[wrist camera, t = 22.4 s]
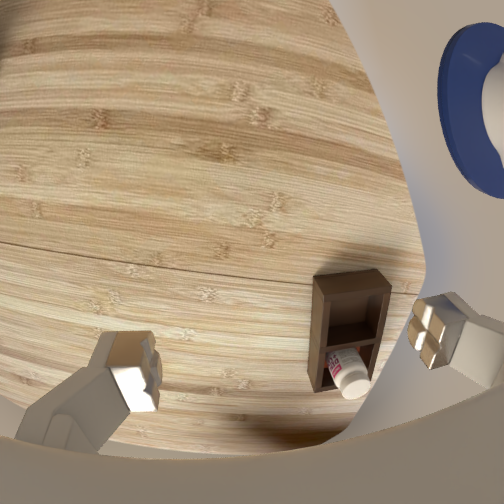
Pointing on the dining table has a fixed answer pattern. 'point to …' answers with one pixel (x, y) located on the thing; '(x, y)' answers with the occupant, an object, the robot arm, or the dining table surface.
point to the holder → (346, 320)
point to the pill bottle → (348, 372)
